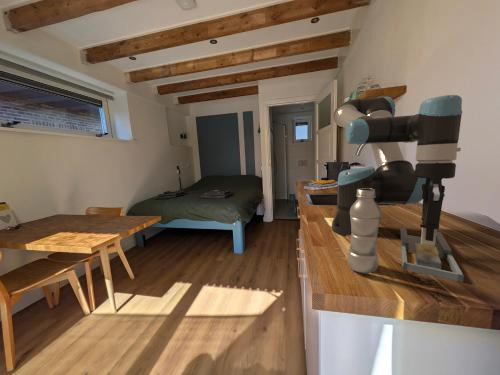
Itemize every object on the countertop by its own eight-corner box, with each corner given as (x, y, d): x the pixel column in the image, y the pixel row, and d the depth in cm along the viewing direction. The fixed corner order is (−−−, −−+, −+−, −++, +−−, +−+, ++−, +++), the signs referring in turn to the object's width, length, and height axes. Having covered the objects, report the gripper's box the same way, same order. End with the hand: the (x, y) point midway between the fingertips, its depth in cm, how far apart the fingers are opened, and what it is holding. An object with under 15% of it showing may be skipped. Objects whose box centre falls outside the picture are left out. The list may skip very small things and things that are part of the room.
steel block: (416, 268, 48) (417, 258, 47) (414, 260, 51) (415, 251, 51) (440, 273, 45) (441, 262, 45) (437, 265, 49) (438, 255, 48)
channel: (401, 253, 56) (401, 242, 56) (399, 236, 68) (400, 226, 68) (450, 263, 50) (451, 250, 50) (439, 242, 63) (440, 232, 62)
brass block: (415, 260, 51) (416, 249, 51) (414, 253, 55) (414, 242, 54) (437, 265, 49) (438, 253, 48) (434, 256, 52) (435, 246, 52)
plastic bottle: (341, 264, 52) (344, 188, 49) (366, 262, 52) (370, 186, 50) (357, 278, 45) (360, 192, 43) (385, 276, 46) (390, 190, 43)
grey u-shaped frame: (402, 271, 47) (403, 262, 47) (401, 253, 56) (401, 245, 56) (462, 286, 42) (463, 275, 41) (450, 263, 50) (451, 254, 50)
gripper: (463, 162, 43) (452, 265, 46) (449, 161, 53) (441, 244, 57) (418, 163, 47) (411, 257, 50) (413, 161, 58) (407, 239, 61)
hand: (427, 250), depth 53 cm, fingers closed
